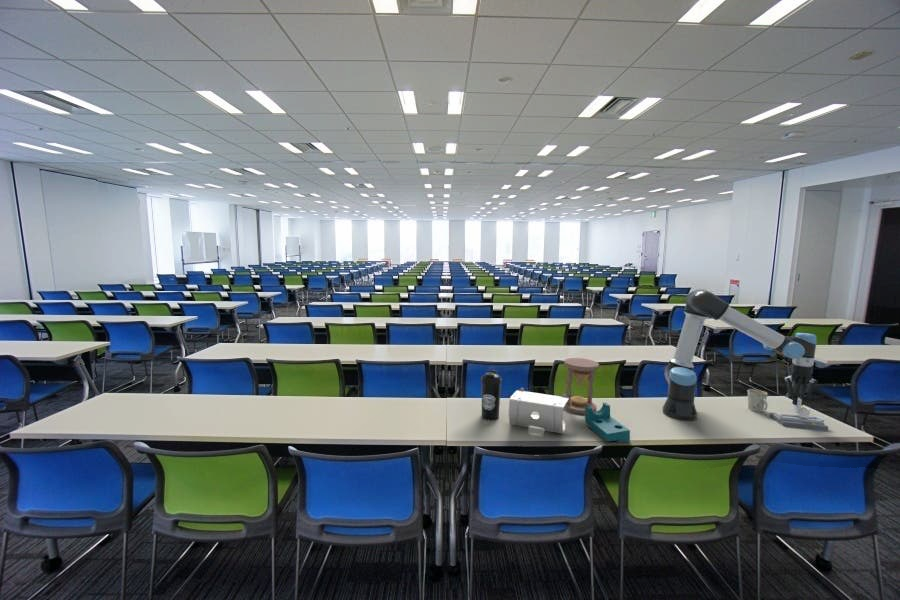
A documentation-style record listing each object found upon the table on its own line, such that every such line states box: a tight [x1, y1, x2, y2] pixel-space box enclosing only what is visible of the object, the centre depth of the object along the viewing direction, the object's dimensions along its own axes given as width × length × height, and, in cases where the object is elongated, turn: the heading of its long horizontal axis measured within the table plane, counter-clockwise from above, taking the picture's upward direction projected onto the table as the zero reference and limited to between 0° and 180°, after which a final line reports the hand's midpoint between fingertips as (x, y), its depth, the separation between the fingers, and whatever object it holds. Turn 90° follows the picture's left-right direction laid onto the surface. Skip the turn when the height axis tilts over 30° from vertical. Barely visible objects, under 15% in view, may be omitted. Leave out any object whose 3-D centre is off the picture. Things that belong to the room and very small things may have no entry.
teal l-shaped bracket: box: [584, 401, 631, 444], centre depth 170 cm, size 18×11×10 cm, turn 10°
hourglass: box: [563, 357, 600, 415], centre depth 198 cm, size 18×18×25 cm
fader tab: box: [794, 405, 811, 419], centre depth 184 cm, size 3×5×6 cm, turn 166°
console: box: [769, 411, 829, 431], centre depth 184 cm, size 18×11×4 cm, turn 76°
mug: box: [747, 388, 769, 413], centre depth 198 cm, size 8×13×10 cm, turn 174°
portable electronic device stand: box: [508, 387, 569, 438], centre depth 176 cm, size 26×24×16 cm
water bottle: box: [480, 369, 503, 421], centre depth 185 cm, size 10×10×23 cm
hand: (796, 411), depth 184 cm, fingers closed
